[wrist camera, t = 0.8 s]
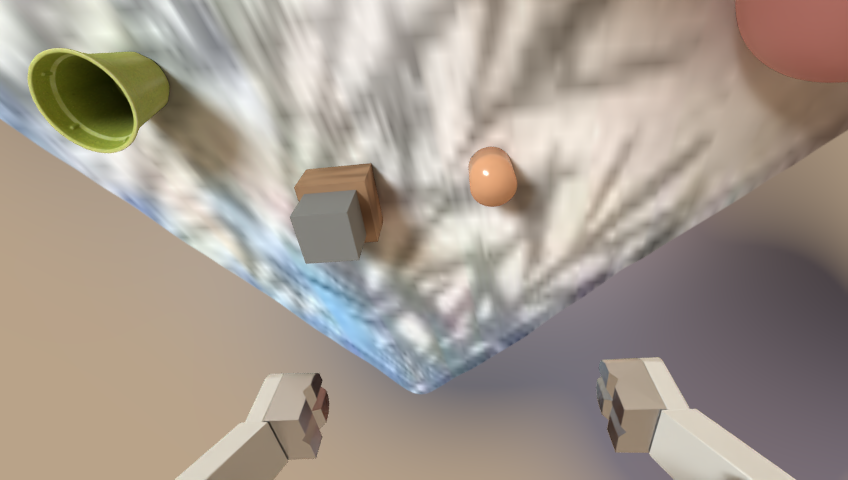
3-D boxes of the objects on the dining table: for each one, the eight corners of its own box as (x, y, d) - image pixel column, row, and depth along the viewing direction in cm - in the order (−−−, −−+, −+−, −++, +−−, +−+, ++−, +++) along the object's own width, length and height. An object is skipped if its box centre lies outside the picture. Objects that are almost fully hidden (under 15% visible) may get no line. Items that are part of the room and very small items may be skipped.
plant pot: (139, 135, 48) (86, 166, 41) (76, 54, 44) (2, 72, 36) (203, 107, 46) (158, 134, 39) (144, 18, 41) (79, 30, 34)
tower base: (306, 168, 50) (294, 187, 46) (371, 162, 49) (364, 181, 45) (323, 224, 54) (313, 246, 50) (383, 219, 53) (377, 241, 49)
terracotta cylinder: (466, 149, 47) (468, 167, 43) (511, 144, 47) (517, 162, 43) (469, 188, 50) (471, 208, 46) (511, 184, 49) (517, 204, 45)
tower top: (303, 194, 46) (289, 216, 42) (356, 189, 46) (346, 212, 41) (317, 238, 49) (305, 263, 45) (366, 234, 49) (358, 260, 45)
